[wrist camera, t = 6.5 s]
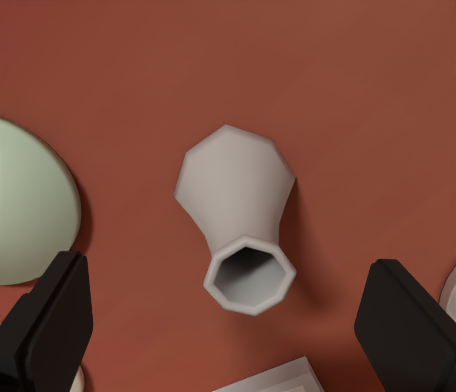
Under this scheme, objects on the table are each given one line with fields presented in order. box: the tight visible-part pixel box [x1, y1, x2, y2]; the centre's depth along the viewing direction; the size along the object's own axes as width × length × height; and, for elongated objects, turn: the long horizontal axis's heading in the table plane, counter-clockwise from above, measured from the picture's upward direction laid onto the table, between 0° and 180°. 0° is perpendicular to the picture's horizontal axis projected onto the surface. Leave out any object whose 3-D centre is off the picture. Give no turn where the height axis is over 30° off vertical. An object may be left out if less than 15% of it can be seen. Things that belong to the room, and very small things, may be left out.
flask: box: [174, 124, 297, 317], centre depth 17 cm, size 7×7×10 cm
